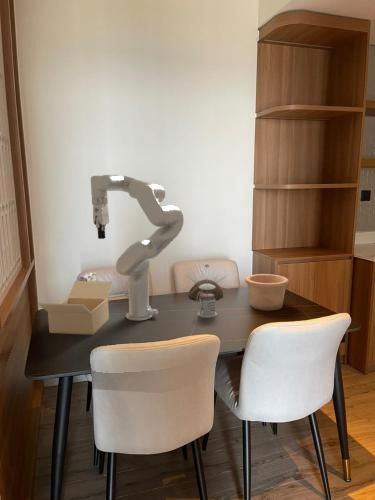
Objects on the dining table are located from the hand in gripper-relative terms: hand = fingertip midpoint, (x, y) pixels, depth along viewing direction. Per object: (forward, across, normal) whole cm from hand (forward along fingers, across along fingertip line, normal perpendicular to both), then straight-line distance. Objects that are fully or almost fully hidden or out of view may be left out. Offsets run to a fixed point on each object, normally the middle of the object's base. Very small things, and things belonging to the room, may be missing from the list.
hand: (101, 238), depth 189 cm
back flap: (+24, -8, +4) cm, 26 cm away
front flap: (+24, -36, +4) cm, 43 cm away
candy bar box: (+37, +8, +12) cm, 40 cm away
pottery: (+37, +15, -82) cm, 91 cm away
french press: (+37, -2, -52) cm, 64 cm away
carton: (+37, -22, +4) cm, 43 cm away
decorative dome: (+38, +29, -49) cm, 69 cm away
